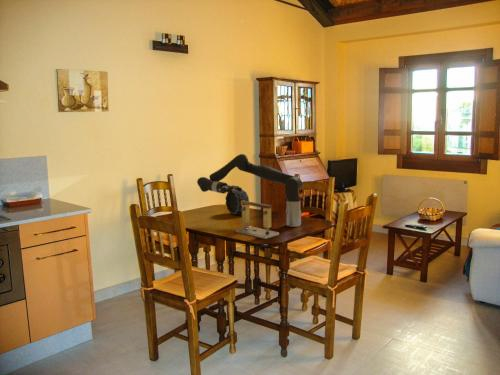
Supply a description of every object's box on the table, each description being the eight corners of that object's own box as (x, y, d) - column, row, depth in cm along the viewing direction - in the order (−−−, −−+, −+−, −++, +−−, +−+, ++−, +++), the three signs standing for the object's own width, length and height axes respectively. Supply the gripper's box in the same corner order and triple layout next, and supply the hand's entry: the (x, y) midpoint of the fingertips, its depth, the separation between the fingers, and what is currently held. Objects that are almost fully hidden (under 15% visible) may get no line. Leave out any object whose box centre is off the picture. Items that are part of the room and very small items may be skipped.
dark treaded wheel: (236, 211, 368) (235, 186, 365) (250, 215, 352) (250, 189, 349) (224, 213, 362) (223, 187, 359) (238, 217, 346) (238, 191, 343)
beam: (244, 203, 306) (244, 200, 306) (271, 208, 290) (271, 204, 289) (240, 204, 304) (240, 200, 304) (268, 209, 287) (268, 205, 287)
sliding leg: (246, 227, 308) (245, 203, 306) (249, 228, 306) (249, 204, 303) (240, 228, 305) (240, 205, 302) (244, 229, 302) (244, 205, 300)
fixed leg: (267, 232, 295) (267, 207, 293) (271, 233, 293) (271, 207, 290) (262, 233, 292) (261, 208, 289) (266, 234, 289) (266, 209, 287)
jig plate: (249, 228, 313) (249, 226, 312) (279, 234, 295) (279, 232, 294) (235, 231, 304) (235, 229, 303) (265, 238, 286) (265, 236, 285)
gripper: (212, 183, 311) (229, 185, 300) (227, 180, 322) (244, 183, 311) (212, 194, 313) (229, 197, 302) (227, 191, 323) (244, 194, 312)
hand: (236, 190), depth 306 cm, fingers open, 8 cm apart
